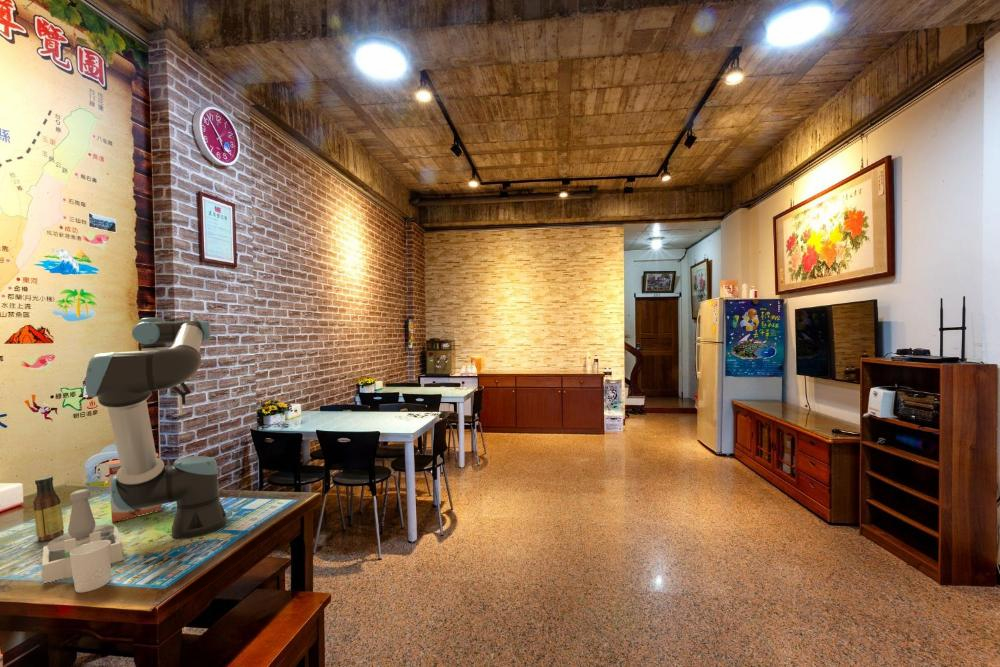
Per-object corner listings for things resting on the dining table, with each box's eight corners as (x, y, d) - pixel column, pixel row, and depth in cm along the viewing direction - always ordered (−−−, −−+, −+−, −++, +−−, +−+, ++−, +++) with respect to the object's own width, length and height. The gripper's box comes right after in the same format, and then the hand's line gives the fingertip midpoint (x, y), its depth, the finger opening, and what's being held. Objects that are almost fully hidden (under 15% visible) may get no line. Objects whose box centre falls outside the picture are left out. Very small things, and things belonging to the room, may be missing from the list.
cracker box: (111, 524, 154) (107, 464, 154) (112, 518, 159) (108, 460, 158) (162, 511, 163) (158, 455, 163) (161, 507, 168) (158, 452, 167)
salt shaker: (79, 540, 124) (76, 495, 124) (63, 540, 126) (59, 494, 125) (101, 531, 130) (98, 487, 130) (85, 530, 131) (82, 486, 131)
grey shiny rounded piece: (118, 558, 125) (117, 537, 125) (48, 580, 115) (46, 557, 115) (113, 539, 138) (112, 520, 138) (49, 558, 128) (47, 537, 128)
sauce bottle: (68, 531, 150) (64, 473, 149) (57, 539, 144) (53, 478, 143) (42, 535, 147) (38, 476, 147) (31, 544, 141) (26, 482, 141)
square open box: (123, 560, 127) (120, 526, 127) (43, 585, 116) (40, 548, 116) (117, 542, 139) (115, 511, 139) (44, 563, 128) (42, 529, 128)
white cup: (68, 588, 114) (65, 550, 114) (107, 573, 121) (105, 537, 120) (77, 597, 110) (74, 557, 109) (117, 581, 116) (115, 543, 116)
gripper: (193, 356, 175) (196, 410, 176) (109, 362, 158) (113, 421, 158) (197, 356, 170) (200, 411, 170) (110, 362, 152) (115, 424, 153)
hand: (158, 416), depth 164 cm, fingers open, 13 cm apart
